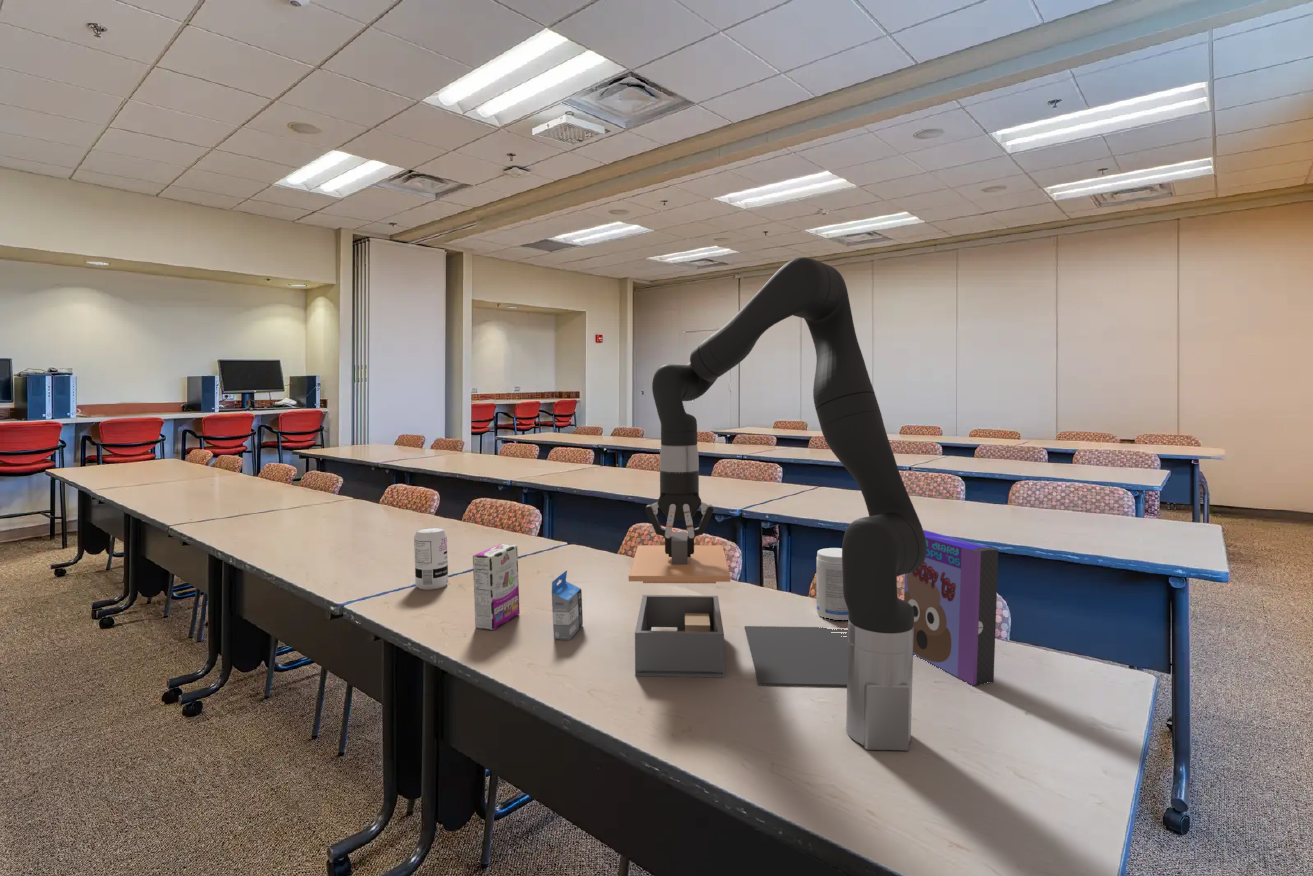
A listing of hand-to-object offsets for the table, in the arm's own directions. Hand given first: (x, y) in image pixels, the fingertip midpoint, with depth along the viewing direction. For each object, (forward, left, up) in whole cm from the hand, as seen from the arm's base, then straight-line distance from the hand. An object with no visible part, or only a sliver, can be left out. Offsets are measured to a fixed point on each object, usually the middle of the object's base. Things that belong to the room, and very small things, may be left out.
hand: (679, 555), depth 129 cm
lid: (0, 0, -2) cm, 2 cm away
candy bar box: (+16, +41, -20) cm, 48 cm away
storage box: (0, 0, -19) cm, 19 cm away
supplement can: (+42, +66, -20) cm, 81 cm away
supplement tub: (+23, -36, -20) cm, 47 cm away
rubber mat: (0, -26, -19) cm, 32 cm away
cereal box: (-4, -50, -20) cm, 54 cm away
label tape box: (+10, +24, -20) cm, 33 cm away
